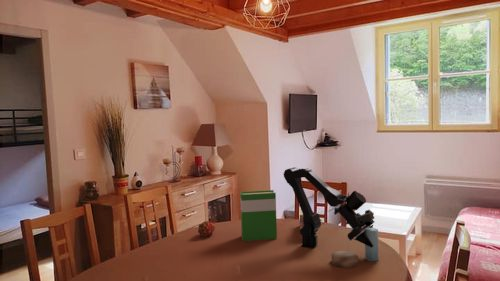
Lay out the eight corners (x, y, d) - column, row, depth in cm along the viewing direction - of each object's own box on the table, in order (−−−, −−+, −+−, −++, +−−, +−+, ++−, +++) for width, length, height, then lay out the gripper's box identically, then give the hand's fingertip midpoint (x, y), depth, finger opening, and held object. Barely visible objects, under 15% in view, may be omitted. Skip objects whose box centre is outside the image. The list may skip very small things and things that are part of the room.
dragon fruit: (201, 242, 194) (208, 238, 206) (214, 233, 193) (220, 229, 205) (192, 229, 196) (200, 225, 208) (205, 219, 195) (212, 216, 207)
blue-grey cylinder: (364, 260, 161) (363, 230, 160) (366, 255, 165) (365, 227, 165) (377, 262, 158) (377, 232, 157) (379, 257, 163) (378, 228, 162)
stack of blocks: (301, 225, 214) (300, 204, 213) (312, 225, 213) (312, 204, 212) (299, 237, 193) (299, 214, 192) (312, 238, 192) (311, 214, 191)
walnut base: (328, 265, 157) (328, 258, 156) (335, 255, 166) (334, 249, 166) (355, 269, 152) (355, 262, 152) (360, 259, 162) (360, 252, 161)
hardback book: (274, 234, 199) (273, 190, 198) (276, 238, 192) (275, 193, 190) (241, 236, 198) (240, 191, 196) (242, 241, 190) (241, 194, 188)
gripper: (354, 210, 155) (381, 240, 149) (369, 200, 170) (394, 228, 164) (336, 225, 160) (362, 255, 155) (353, 215, 175) (377, 242, 169)
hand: (374, 244), depth 160 cm, fingers closed on blue-grey cylinder, 5 cm apart
